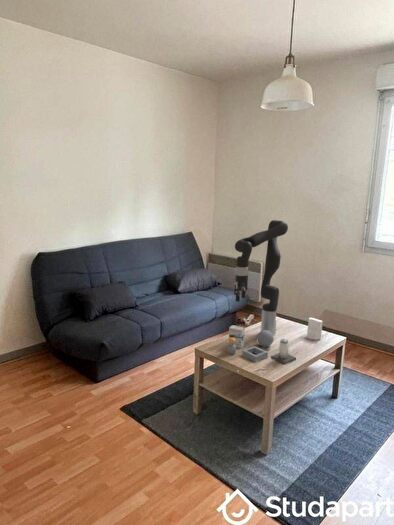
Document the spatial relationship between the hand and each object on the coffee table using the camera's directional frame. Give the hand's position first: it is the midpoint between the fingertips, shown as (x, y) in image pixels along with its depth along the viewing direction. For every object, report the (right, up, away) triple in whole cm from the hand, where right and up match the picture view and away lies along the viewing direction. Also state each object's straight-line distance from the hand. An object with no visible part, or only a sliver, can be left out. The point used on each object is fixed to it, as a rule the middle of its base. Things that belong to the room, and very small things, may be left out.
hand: (240, 299), depth 237 cm
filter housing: (+2, -31, -11) cm, 33 cm away
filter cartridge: (+23, -31, -14) cm, 41 cm away
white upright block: (+51, -27, +19) cm, 60 cm away
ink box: (-3, -29, +2) cm, 29 cm away
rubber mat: (+23, -32, -14) cm, 42 cm away
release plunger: (-6, -24, -11) cm, 27 cm away
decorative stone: (+15, -29, +2) cm, 33 cm away
